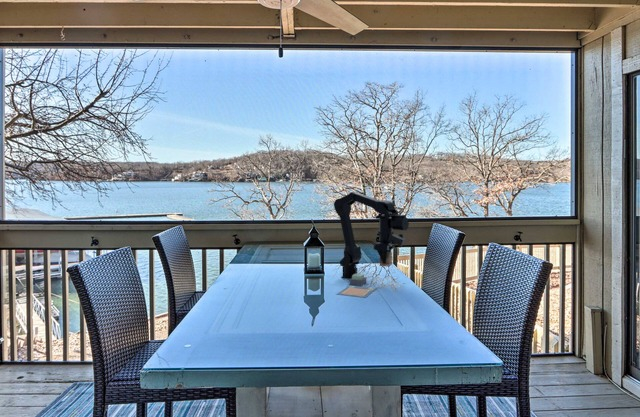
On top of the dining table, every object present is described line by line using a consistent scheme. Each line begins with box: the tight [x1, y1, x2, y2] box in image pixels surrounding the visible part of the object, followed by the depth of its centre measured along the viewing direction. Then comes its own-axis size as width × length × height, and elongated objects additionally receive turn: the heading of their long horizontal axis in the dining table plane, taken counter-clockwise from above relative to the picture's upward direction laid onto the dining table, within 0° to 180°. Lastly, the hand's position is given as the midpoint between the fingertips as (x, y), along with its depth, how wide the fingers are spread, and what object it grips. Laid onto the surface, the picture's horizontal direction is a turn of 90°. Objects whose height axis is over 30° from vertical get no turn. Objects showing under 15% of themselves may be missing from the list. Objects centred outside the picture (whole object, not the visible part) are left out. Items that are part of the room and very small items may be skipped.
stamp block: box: [379, 251, 393, 267], centre depth 193 cm, size 4×4×6 cm
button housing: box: [349, 276, 367, 287], centre depth 195 cm, size 6×6×2 cm
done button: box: [352, 273, 365, 280], centre depth 195 cm, size 4×4×2 cm
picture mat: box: [336, 285, 377, 299], centre depth 182 cm, size 13×15×1 cm
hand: (385, 262), depth 193 cm, fingers closed on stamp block, 4 cm apart
